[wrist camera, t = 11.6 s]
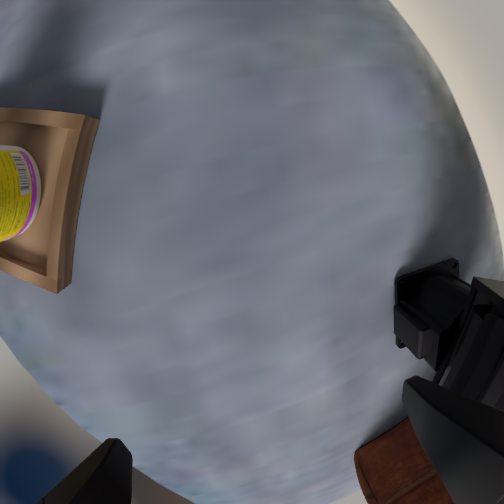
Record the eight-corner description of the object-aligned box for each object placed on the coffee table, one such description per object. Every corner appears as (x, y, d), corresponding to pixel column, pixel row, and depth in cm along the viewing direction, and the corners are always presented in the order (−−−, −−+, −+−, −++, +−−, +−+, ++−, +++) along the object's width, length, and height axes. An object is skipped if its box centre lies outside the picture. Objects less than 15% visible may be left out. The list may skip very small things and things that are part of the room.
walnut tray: (99, 119, 17) (85, 114, 14) (70, 283, 19) (56, 294, 17) (-6, 109, 15) (-22, 106, 13) (-24, 243, 18) (-40, 249, 16)
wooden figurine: (364, 468, 27) (407, 578, 10) (344, 452, 26) (391, 583, 8) (444, 415, 26) (513, 513, 9) (435, 391, 25) (520, 505, 7)
